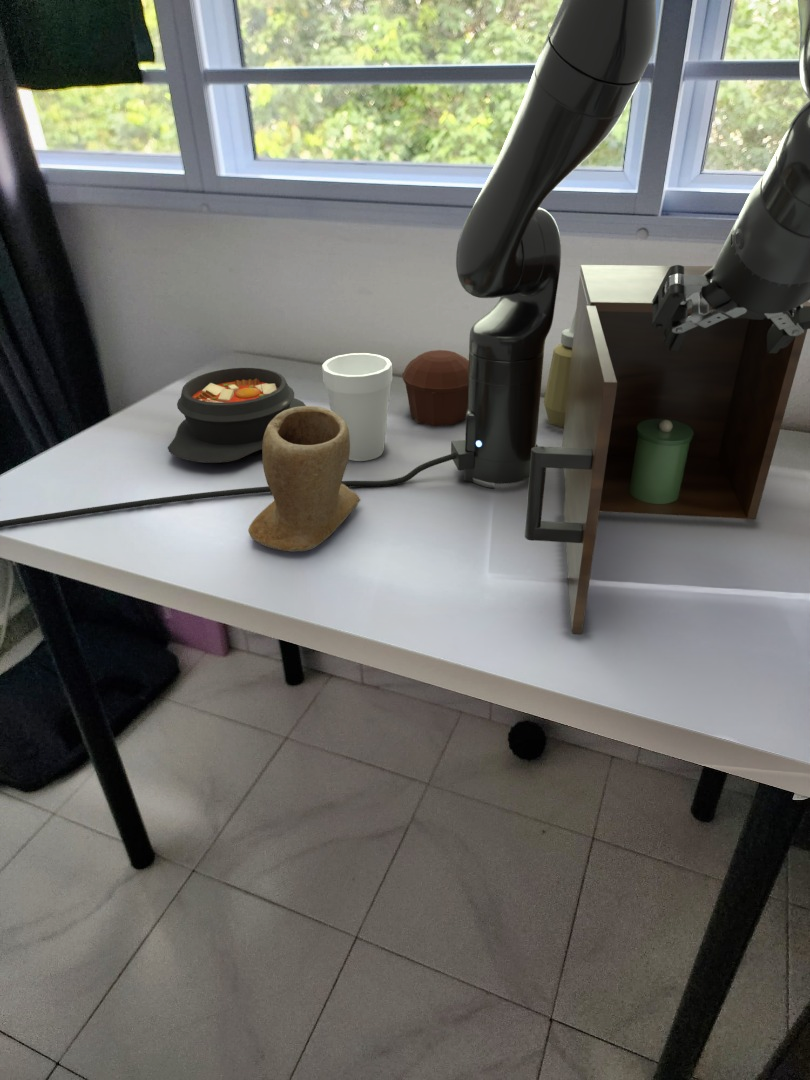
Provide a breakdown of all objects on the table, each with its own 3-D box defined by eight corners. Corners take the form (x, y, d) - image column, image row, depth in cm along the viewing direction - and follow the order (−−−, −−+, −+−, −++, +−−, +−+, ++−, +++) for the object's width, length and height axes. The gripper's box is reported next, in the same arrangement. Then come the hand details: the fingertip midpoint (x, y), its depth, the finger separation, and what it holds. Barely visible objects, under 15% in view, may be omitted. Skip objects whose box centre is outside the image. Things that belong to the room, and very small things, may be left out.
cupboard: (753, 526, 89) (814, 306, 75) (566, 516, 92) (590, 302, 78) (722, 462, 103) (768, 266, 89) (561, 455, 106) (580, 264, 92)
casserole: (252, 484, 101) (243, 426, 96) (138, 463, 106) (125, 408, 102) (333, 414, 120) (329, 363, 116) (234, 399, 126) (226, 351, 121)
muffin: (395, 426, 115) (393, 364, 110) (410, 399, 125) (409, 340, 119) (471, 432, 113) (473, 368, 108) (481, 404, 122) (484, 344, 117)
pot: (629, 503, 92) (641, 430, 87) (624, 478, 98) (635, 408, 93) (685, 506, 92) (700, 432, 86) (676, 481, 97) (690, 410, 92)
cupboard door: (517, 629, 74) (537, 380, 60) (519, 515, 92) (535, 304, 78) (582, 634, 73) (617, 382, 59) (570, 518, 91) (596, 305, 77)
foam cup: (404, 443, 110) (403, 358, 103) (376, 470, 103) (372, 380, 96) (348, 433, 114) (342, 349, 107) (317, 458, 107) (309, 370, 100)
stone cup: (324, 570, 83) (312, 448, 75) (236, 546, 88) (217, 428, 80) (385, 507, 95) (381, 395, 87) (305, 489, 99) (294, 381, 91)
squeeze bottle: (603, 421, 116) (618, 303, 106) (583, 440, 110) (598, 318, 100) (554, 411, 119) (565, 296, 110) (533, 429, 114) (542, 309, 104)
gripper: (896, 186, 52) (802, 306, 68) (685, 186, 54) (641, 304, 70) (902, 283, 51) (805, 383, 66) (684, 280, 52) (639, 378, 68)
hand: (721, 342), depth 68 cm, fingers open, 8 cm apart
